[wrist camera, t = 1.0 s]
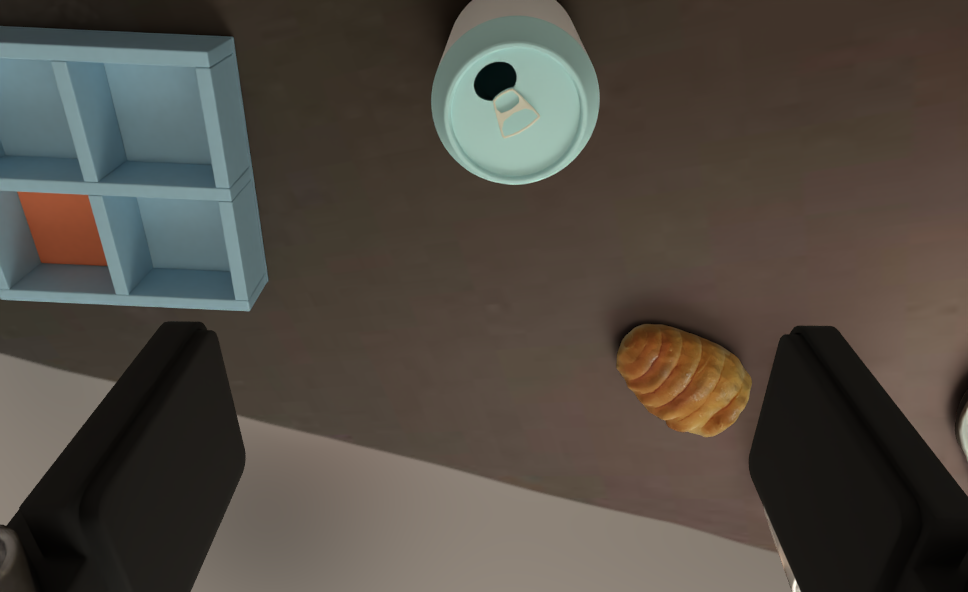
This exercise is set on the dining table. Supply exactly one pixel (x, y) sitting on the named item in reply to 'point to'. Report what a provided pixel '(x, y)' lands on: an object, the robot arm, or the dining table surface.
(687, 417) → the pastry
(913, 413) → the dining table surface
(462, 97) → the can
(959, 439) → the salad plate
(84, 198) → the four compartment organizer
